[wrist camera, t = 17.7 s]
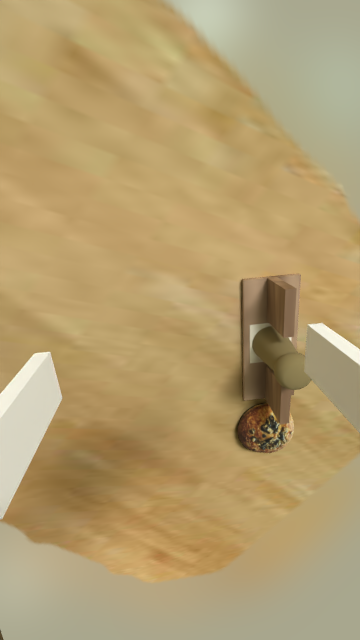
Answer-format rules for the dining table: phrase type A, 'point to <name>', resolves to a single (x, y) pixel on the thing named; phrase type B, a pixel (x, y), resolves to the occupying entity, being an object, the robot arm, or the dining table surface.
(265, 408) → the bread roll
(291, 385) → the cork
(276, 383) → the notched board
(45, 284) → the dining table surface
